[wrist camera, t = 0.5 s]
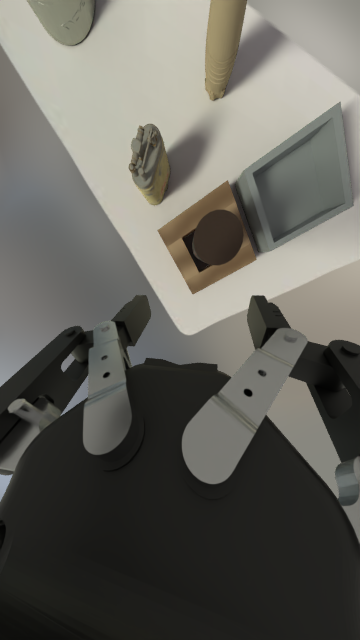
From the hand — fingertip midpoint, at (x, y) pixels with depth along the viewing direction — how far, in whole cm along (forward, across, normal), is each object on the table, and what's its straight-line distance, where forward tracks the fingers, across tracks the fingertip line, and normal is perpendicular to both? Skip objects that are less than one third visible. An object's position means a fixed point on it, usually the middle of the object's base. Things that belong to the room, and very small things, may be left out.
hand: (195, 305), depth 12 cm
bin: (+28, -13, -6) cm, 32 cm away
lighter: (+27, +9, -10) cm, 30 cm away
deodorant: (+25, 0, +1) cm, 25 cm away
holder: (+25, 0, +1) cm, 25 cm away
